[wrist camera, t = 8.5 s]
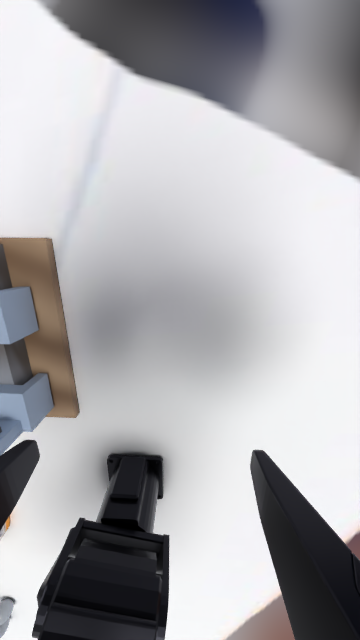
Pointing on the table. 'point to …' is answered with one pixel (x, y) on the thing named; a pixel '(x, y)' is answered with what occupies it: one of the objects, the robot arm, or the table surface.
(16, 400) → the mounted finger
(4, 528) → the supplement box
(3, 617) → the molecular model
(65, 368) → the rail board
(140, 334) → the table surface
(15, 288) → the notched blue block
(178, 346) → the table surface
